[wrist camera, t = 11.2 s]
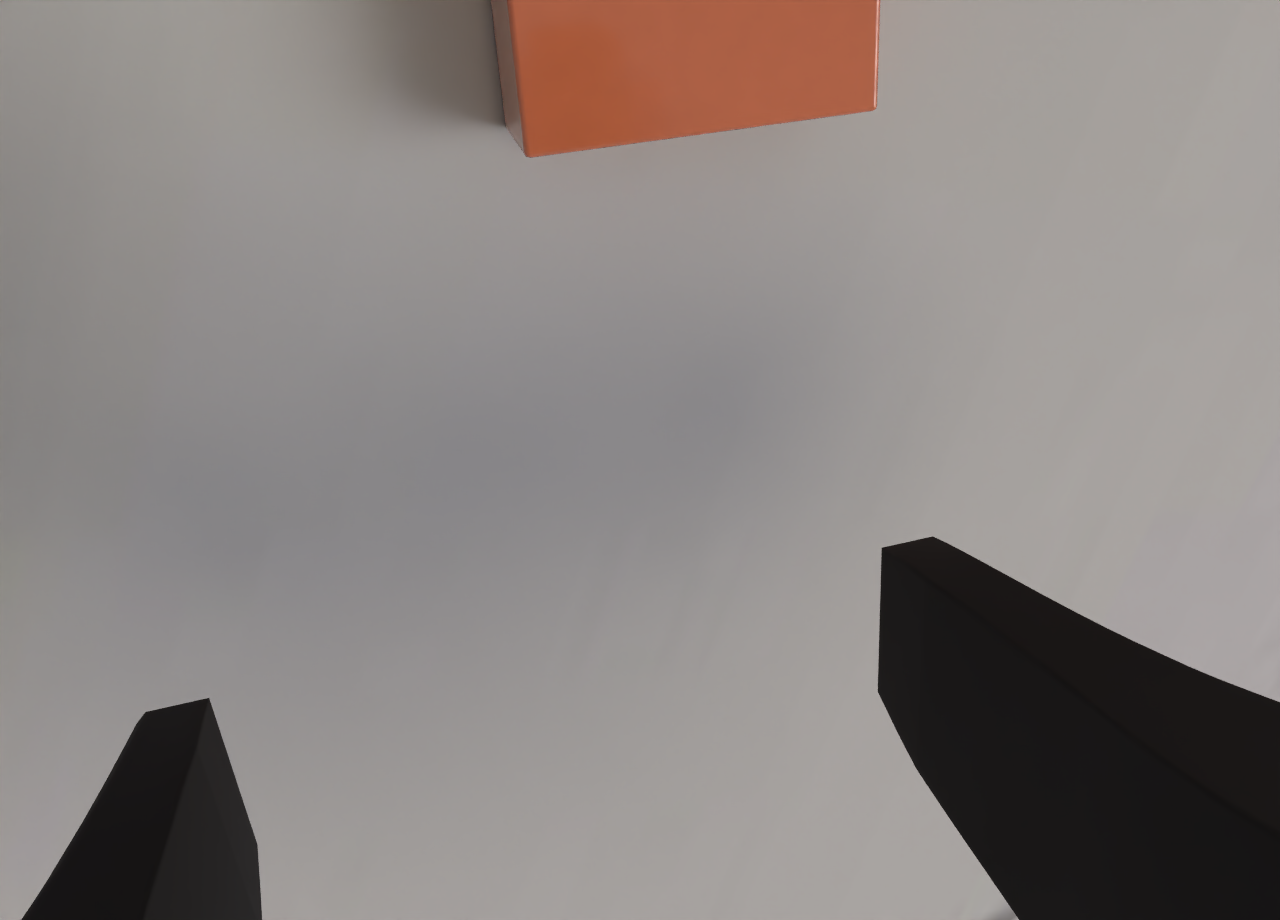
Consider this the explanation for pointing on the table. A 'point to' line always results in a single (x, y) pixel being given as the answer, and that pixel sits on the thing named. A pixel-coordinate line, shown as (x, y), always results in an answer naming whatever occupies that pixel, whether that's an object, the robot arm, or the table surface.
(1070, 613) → the robot arm
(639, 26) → the terracotta coaster
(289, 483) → the table surface
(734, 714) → the table surface
